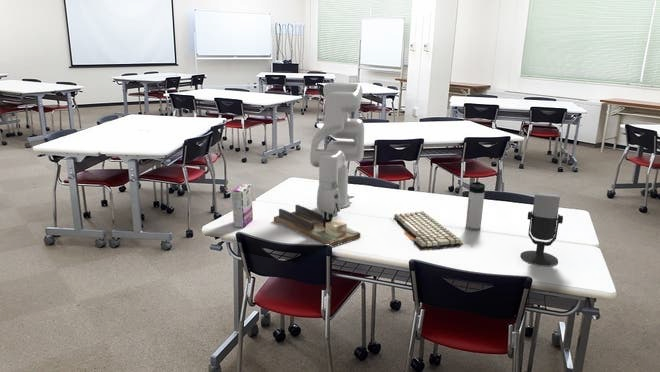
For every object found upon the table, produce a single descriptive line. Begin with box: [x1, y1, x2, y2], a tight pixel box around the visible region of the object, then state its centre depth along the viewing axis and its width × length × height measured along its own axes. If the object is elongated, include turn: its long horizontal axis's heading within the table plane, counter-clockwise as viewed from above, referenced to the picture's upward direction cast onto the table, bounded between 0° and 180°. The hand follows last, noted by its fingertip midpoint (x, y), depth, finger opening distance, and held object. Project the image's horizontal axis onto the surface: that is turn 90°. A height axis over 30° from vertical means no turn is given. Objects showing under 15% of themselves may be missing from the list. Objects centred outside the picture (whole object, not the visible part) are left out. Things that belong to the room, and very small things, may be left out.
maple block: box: [325, 219, 348, 238], centre depth 198 cm, size 6×6×4 cm
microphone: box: [519, 192, 564, 267], centre depth 180 cm, size 13×13×25 cm
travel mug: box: [465, 181, 486, 232], centre depth 211 cm, size 6×7×20 cm
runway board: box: [273, 204, 361, 247], centre depth 208 cm, size 16×38×5 cm, turn 41°
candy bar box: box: [231, 183, 254, 229], centre depth 212 cm, size 11×5×16 cm, turn 168°
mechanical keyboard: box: [393, 210, 464, 251], centre depth 209 cm, size 38×19×3 cm, turn 15°
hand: (327, 227), depth 203 cm, fingers closed
